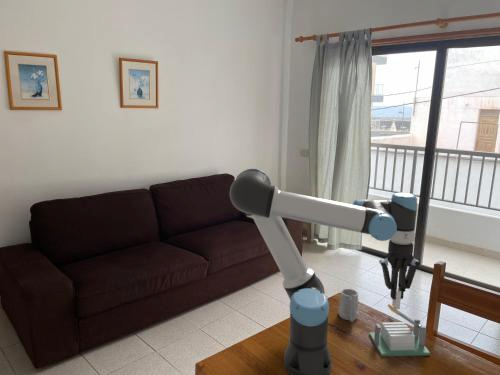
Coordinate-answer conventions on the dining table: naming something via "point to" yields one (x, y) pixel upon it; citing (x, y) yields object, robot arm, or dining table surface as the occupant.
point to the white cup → (349, 304)
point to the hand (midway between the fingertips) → (395, 307)
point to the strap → (404, 316)
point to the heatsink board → (399, 339)
